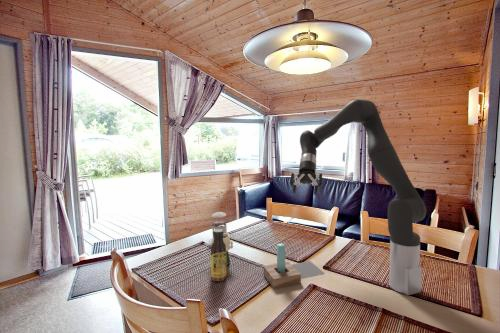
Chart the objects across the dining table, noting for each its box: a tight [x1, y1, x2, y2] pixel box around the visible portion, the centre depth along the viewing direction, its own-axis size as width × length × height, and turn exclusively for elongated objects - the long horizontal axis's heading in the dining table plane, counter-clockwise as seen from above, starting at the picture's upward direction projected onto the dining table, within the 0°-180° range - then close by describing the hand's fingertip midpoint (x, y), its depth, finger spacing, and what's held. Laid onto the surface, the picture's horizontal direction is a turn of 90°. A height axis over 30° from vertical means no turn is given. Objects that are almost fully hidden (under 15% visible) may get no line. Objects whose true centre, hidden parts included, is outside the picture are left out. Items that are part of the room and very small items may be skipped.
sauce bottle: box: [210, 229, 227, 282], centre depth 108 cm, size 7×6×20 cm
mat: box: [291, 260, 326, 280], centre depth 114 cm, size 12×12×1 cm
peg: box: [276, 243, 286, 274], centre depth 106 cm, size 3×3×14 cm
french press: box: [208, 194, 228, 241], centre depth 151 cm, size 10×12×25 cm
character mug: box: [211, 233, 234, 266], centre depth 121 cm, size 11×7×13 cm, turn 63°
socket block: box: [262, 261, 302, 290], centre depth 107 cm, size 11×11×4 cm
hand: (304, 194), depth 118 cm, fingers open, 8 cm apart
